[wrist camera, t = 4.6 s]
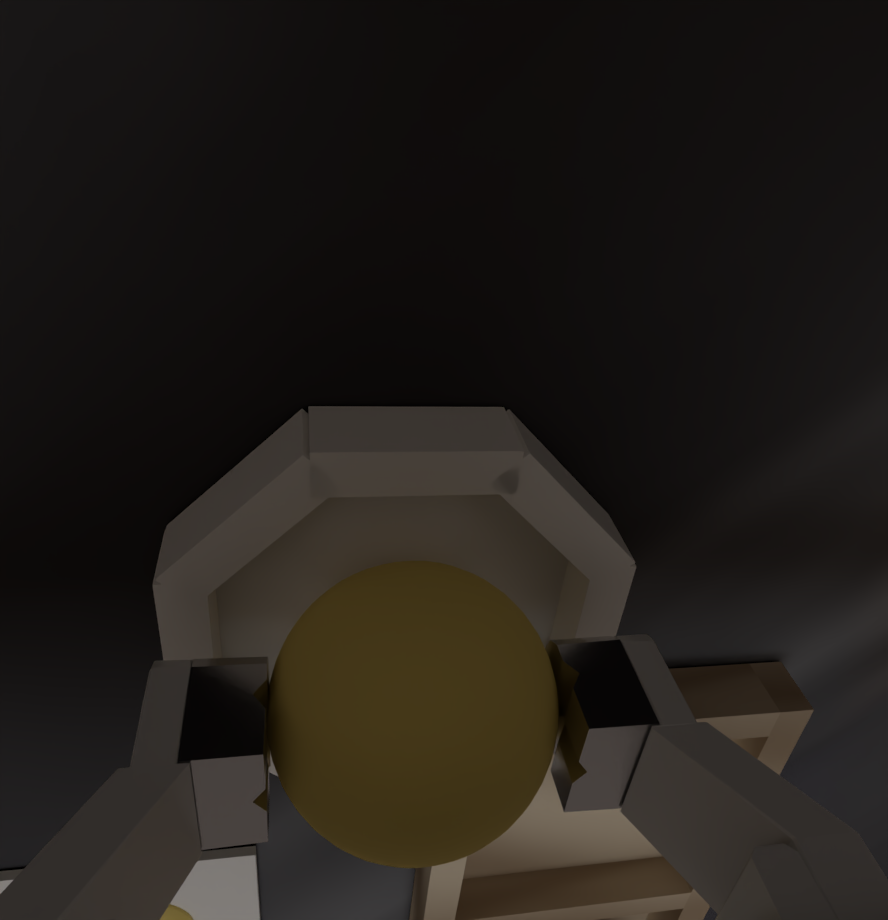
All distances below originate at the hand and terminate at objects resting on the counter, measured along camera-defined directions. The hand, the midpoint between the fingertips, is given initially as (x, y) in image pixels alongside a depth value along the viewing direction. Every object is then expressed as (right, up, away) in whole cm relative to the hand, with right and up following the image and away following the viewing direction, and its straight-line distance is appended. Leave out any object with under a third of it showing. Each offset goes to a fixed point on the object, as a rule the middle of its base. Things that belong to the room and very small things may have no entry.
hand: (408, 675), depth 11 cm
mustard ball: (0, +1, +1) cm, 2 cm away
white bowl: (0, +1, +2) cm, 2 cm away
